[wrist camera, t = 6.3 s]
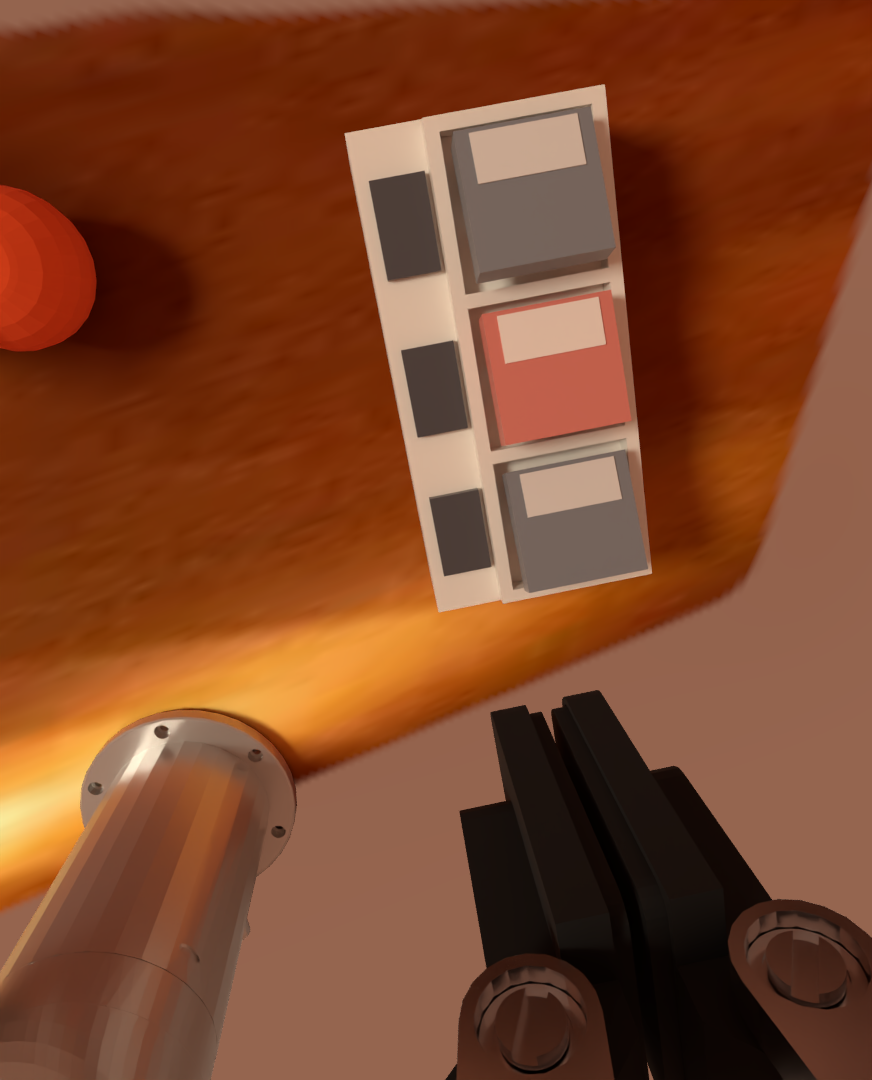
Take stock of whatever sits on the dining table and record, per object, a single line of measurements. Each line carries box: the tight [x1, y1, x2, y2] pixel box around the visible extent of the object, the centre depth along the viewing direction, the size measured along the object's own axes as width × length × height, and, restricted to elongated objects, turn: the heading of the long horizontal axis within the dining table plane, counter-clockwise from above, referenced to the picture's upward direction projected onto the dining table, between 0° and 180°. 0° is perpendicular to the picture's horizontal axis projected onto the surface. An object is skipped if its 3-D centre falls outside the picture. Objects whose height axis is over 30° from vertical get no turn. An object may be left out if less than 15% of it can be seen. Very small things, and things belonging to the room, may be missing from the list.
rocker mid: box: [478, 290, 632, 446], centre depth 31 cm, size 6×6×2 cm
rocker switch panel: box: [345, 84, 652, 612], centre depth 34 cm, size 22×11×6 cm, turn 10°
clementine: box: [0, 185, 97, 352], centre depth 31 cm, size 8×7×7 cm
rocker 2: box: [502, 449, 648, 593], centre depth 33 cm, size 6×6×2 cm
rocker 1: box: [451, 106, 616, 284], centre depth 29 cm, size 6×6×2 cm
